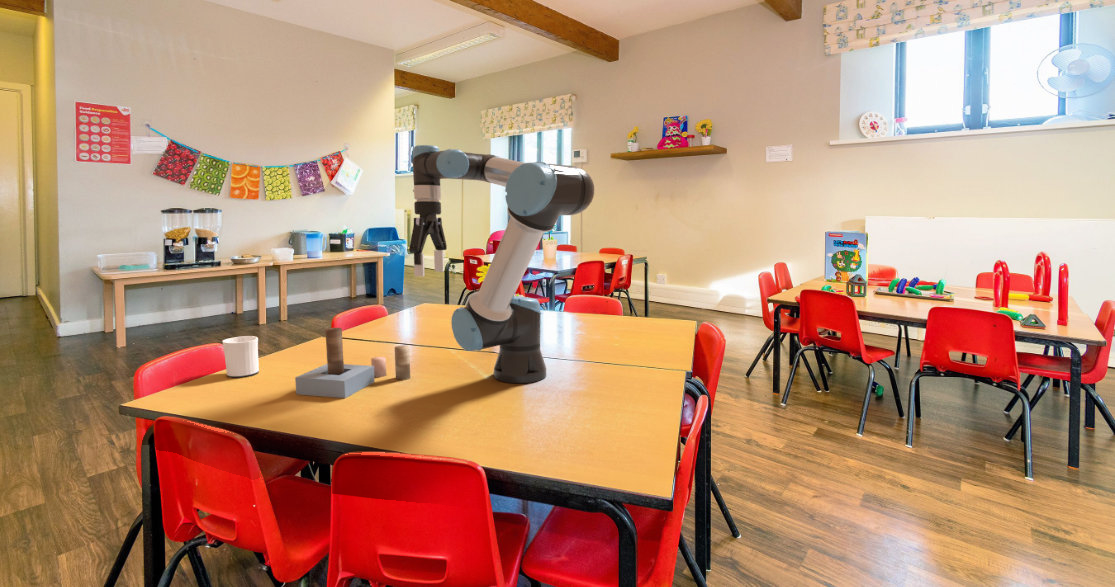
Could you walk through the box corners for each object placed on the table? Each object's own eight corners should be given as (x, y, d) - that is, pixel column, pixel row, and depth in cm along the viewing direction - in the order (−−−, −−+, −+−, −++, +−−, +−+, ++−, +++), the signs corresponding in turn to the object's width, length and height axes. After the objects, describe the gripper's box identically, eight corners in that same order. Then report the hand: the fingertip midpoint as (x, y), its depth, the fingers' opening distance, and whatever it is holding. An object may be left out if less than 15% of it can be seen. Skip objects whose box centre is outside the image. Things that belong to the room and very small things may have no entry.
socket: (374, 381, 151) (373, 366, 150) (345, 398, 137) (344, 380, 136) (329, 378, 153) (328, 363, 153) (296, 394, 140) (295, 377, 139)
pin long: (347, 386, 147) (344, 328, 145) (339, 390, 143) (335, 331, 141) (334, 385, 148) (331, 327, 145) (325, 389, 144) (322, 330, 141)
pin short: (389, 373, 158) (388, 357, 158) (382, 377, 155) (381, 360, 154) (376, 372, 159) (375, 356, 159) (369, 376, 155) (368, 359, 155)
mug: (266, 372, 159) (264, 338, 157) (235, 380, 151) (232, 344, 150) (246, 367, 165) (244, 334, 163) (215, 374, 157) (212, 339, 156)
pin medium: (412, 376, 156) (411, 345, 155) (406, 380, 152) (405, 349, 151) (400, 375, 157) (398, 345, 155) (393, 379, 153) (391, 348, 152)
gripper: (433, 202, 170) (435, 269, 173) (394, 199, 146) (397, 278, 149) (456, 201, 168) (457, 270, 171) (420, 199, 144) (422, 278, 147)
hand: (429, 273), depth 160 cm, fingers open, 13 cm apart
